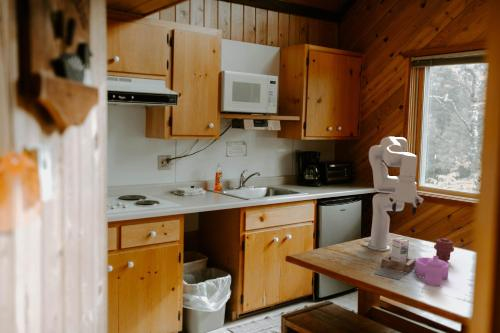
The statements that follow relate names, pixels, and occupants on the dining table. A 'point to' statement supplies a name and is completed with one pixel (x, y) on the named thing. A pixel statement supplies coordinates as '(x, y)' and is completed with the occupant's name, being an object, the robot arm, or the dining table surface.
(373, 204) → the robot arm
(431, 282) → the container set
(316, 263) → the dining table surface
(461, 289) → the dining table surface
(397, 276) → the rubber mat
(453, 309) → the dining table surface
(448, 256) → the mechanical component
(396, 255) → the syrup box
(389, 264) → the socket collar
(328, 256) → the dining table surface
